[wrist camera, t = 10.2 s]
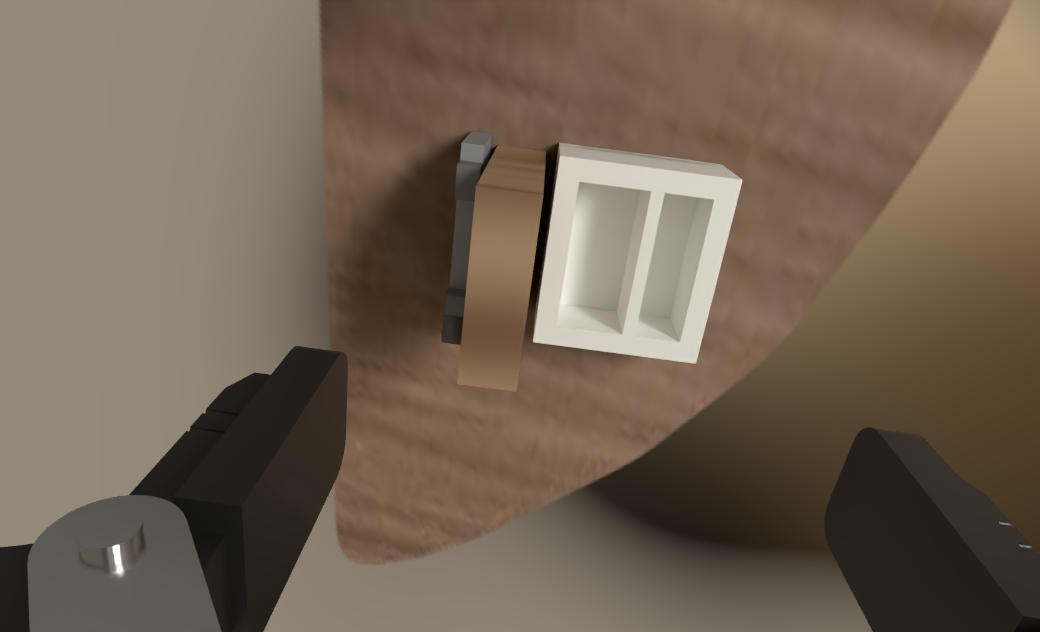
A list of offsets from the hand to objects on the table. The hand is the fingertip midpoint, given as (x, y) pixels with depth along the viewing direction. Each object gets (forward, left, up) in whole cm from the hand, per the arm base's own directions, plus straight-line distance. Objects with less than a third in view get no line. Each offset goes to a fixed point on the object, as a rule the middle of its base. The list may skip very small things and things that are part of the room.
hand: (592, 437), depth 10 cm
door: (+3, -2, -24) cm, 25 cm away
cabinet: (+3, +1, -24) cm, 25 cm away
